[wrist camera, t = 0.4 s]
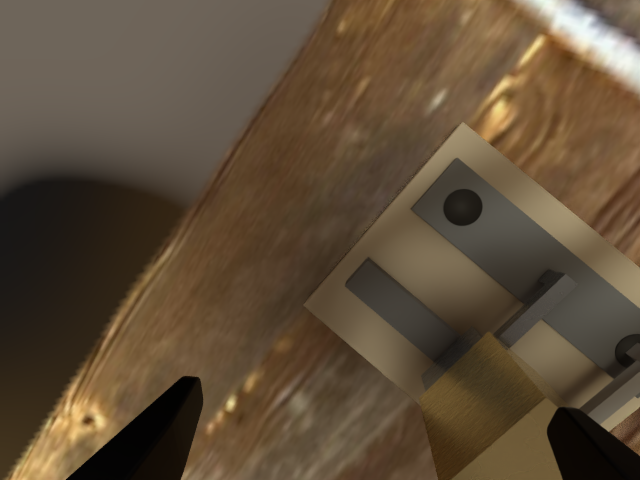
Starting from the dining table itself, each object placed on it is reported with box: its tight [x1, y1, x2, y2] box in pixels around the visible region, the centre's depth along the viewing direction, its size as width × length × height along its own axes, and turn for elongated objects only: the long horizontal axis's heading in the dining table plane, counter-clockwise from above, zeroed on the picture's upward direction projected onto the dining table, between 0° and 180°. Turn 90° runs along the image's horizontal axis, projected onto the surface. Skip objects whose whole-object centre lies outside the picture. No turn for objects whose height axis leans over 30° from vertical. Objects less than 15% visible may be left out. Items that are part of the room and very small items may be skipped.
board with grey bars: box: [303, 122, 640, 432], centre depth 19 cm, size 18×14×4 cm
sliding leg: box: [419, 269, 578, 480], centre depth 15 cm, size 3×10×8 cm, turn 141°
